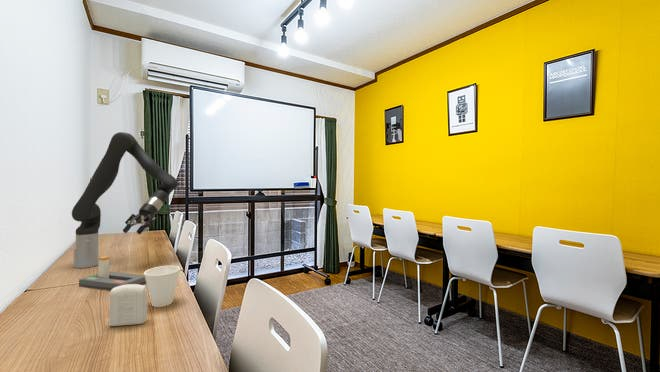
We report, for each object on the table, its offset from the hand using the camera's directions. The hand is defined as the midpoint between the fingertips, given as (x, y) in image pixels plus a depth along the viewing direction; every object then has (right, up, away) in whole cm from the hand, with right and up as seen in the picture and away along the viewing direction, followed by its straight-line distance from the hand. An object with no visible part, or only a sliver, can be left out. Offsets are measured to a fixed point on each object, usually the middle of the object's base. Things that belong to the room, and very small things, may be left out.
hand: (131, 232), depth 142 cm
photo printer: (+33, -21, -49) cm, 63 cm away
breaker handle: (-3, -19, -13) cm, 23 cm away
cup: (+35, -21, -34) cm, 53 cm away
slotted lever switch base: (+3, -20, -15) cm, 25 cm away
